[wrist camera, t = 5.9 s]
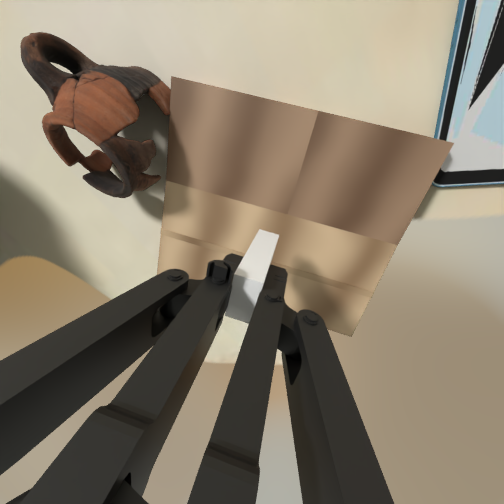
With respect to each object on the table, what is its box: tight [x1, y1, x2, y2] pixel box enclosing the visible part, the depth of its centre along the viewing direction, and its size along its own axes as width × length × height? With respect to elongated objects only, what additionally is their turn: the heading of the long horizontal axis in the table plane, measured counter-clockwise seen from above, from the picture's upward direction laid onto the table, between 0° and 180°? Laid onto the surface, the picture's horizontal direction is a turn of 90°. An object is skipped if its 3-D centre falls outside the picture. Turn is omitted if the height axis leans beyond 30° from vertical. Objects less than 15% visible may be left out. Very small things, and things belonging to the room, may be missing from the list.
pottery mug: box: [21, 32, 171, 198], centre depth 20 cm, size 12×10×8 cm
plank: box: [157, 181, 397, 336], centre depth 24 cm, size 21×10×2 cm, turn 77°
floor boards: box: [166, 76, 454, 245], centre depth 20 cm, size 21×8×2 cm, turn 77°
